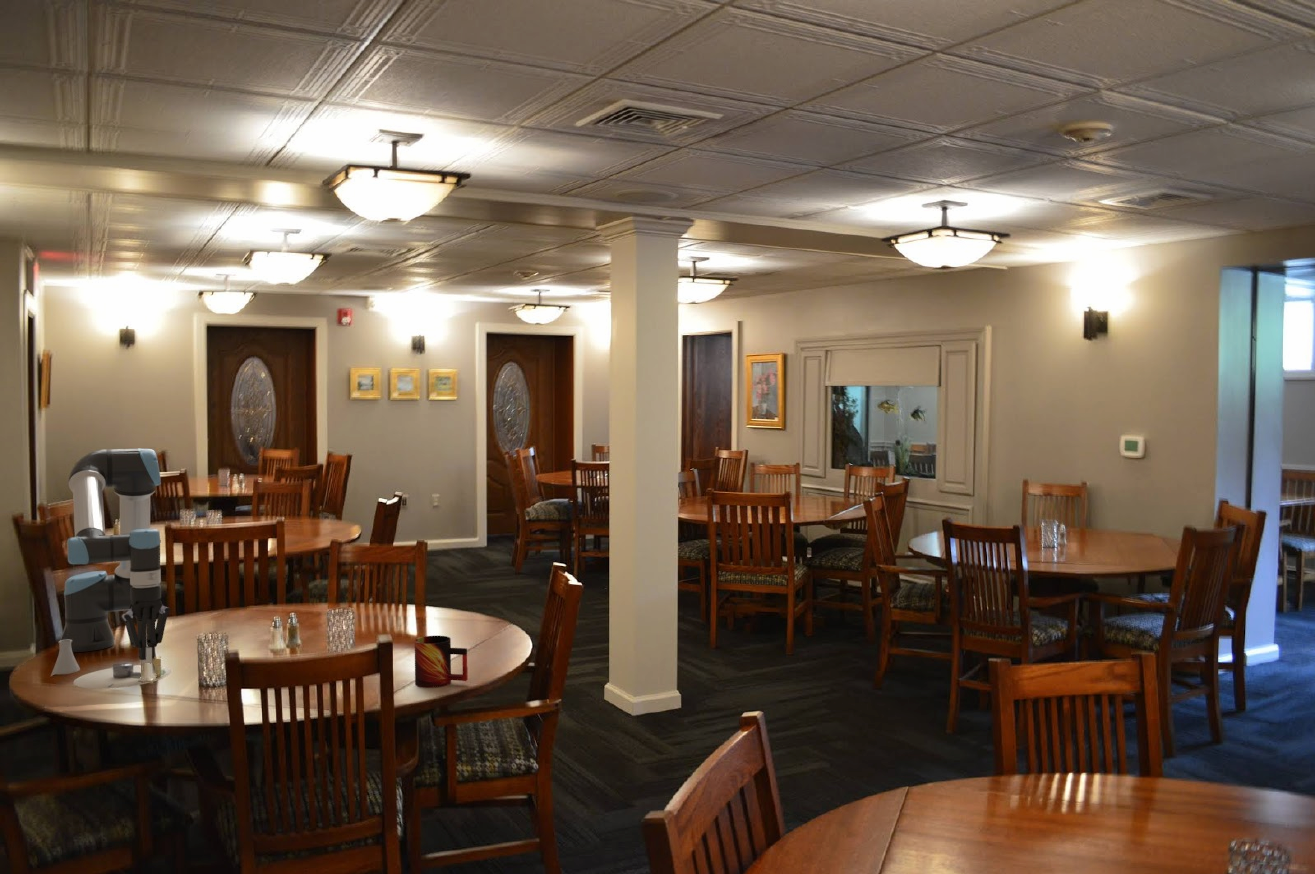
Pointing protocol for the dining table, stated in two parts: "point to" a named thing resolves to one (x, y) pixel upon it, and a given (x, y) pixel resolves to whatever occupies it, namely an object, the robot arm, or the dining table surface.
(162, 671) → the dial board
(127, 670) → the crank handle
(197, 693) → the dining table surface
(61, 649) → the flask
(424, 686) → the mug
